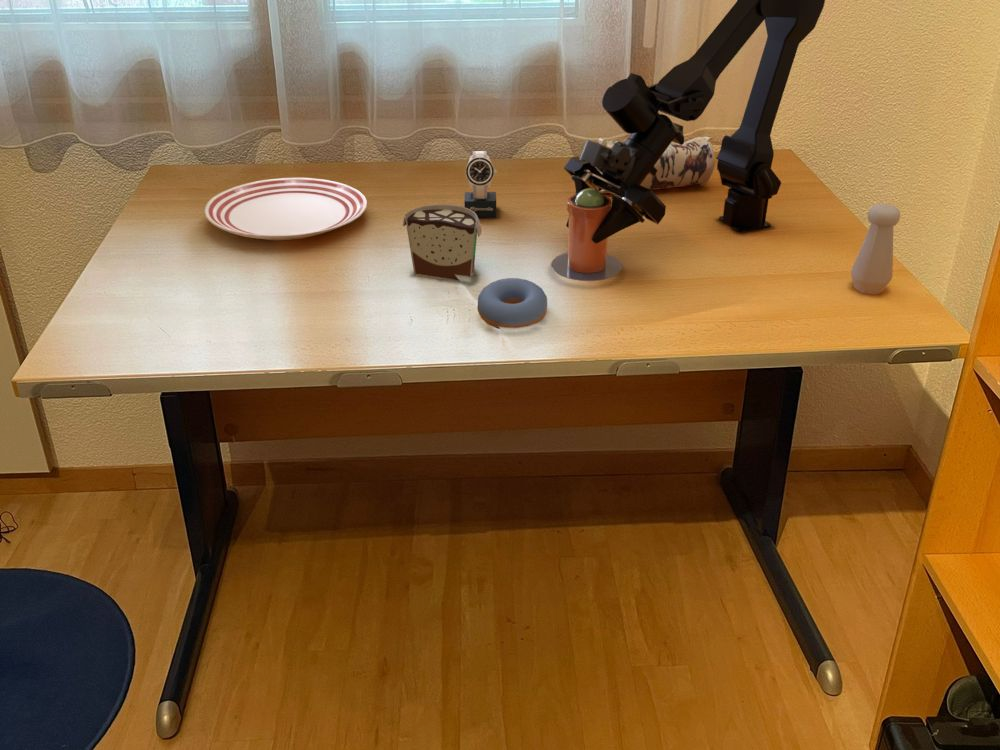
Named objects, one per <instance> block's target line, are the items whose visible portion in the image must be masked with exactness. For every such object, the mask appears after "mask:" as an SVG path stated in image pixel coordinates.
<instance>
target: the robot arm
mask: <svg viewBox="0 0 1000 750" xmlns="http://www.w3.org/2000/svg"><path fill="white" fill-rule="evenodd" d="M825 2H826V0H736V2H734V4H733V5H732V7H731V8H730V9H729V11H728V12H727V13H726V14H725V15H724V17H722V19H721V20H720V22H719V23H718V24H717V26H716V27H715V28H714V29H713V31H712V32H711V33H710V34H709V35H708V36H707V37H706V39H705V40H704V42H703V43H702V44H701V46H699V48H697V50H696V51H695V53H694V54H693V55H692V56H690V58H689V59H687V60H685V61H682V62H681V63H678V64H677V65H675V66H673V67H672V68H671V69H670V70H669V71H668V72H667V73H666V74H664V76H663V77H661V79H659V81H658V82H657V83H655V84H652V85H648V84H647V83H646V80H645V79H644V77H642V75H640V74H637V73H635V72H631V73H630V74H629V75H628V76H627V77H626V78H623V79H621V80H618V81H616V82H614V83H613V84H612V85H611V86H608V88H607V89H606V90H605V91H604V94H603V96H602V99H601V106H602V108H603V109H604V111H605V112H606V113H607V114H608V115H609V116H610V117H611V119H612V120H613V121H614V122H615V123H616V124H617V125H618V127H620V129H621V130H622V131H623V132H624V133H626V134H629V135H628V137H627V138H626V140H625V141H624V142H622V141H620V140H618V142H617V141H616V143H615V144H614V145H613V147H612V148H610V147H607V146H605V145H602V144H600V143H599V142H596V141H593V140H590V139H586V141H585V144H584V147H583V149H582V152H581V154H580V156H578V155H576V156H573V157H570V158H569V160H568V161H567V162H566V164H565V165H564V167H563V169H564V171H565V172H567V173H568V174H569V176H570V177H571V180H572V181H573V182H574V187H575V193H574V195H577V194H578V193H579V192H580V191H582V190H583V189H586V188H594V189H596V190H598V191H601V190H602V189H603V190H605V191H607V192H609V193H608V194H611V195H612V197H611V201H612V206H611V209H610V211H609V212H608V214H607V215H606V217H605V218H604V220H603V221H602V223H601V224H600V226H599V227H598V229H597V230H596V232H595V234H594V236H593V237H592V241H593V242H594V243H596V244H597V243H599V242H601V241H602V240H604V239H606V238H608V239H609V238H610V237H612V236H614V235H615V234H617V233H619V232H621V231H623V230H625V229H627V228H630V227H631V226H633V225H636V224H638V223H642V224H643V223H644V222H645V221H646V220H648V221H650V222H652V223H653V224H656V225H659V224H660V223H661V222H662V220H663V219H664V217H665V216H666V211H667V210H666V209H667V205H666V204H665V203H664V202H663V201H662V200H661V199H660V198H659V197H658V196H657V195H656V193H654V191H653V190H649V189H647V188H645V187H643V186H641V183H642V182H643V181H644V179H645V178H646V176H647V175H648V174H650V175H652V176H654V175H655V174H656V172H657V169H656V168H655V167H654V165H655V164H656V163H657V161H658V160H659V159H660V157H661V156H662V154H663V153H664V152H665V150H666V149H667V148H668V146H669V145H670V143H671V142H675V143H678V144H680V145H683V144H684V141H685V136H684V135H685V134H684V125H681V124H678V123H675V122H673V121H672V119H670V117H669V116H671V117H674V118H677V119H679V120H681V121H685V122H692V121H696V120H697V119H699V117H701V116H702V114H703V113H704V112H705V110H706V108H707V107H708V106H709V103H710V102H711V100H712V99H713V97H714V95H715V90H716V84H717V80H718V79H719V77H720V76H721V74H722V73H723V72H724V71H725V69H726V68H727V67H728V65H729V64H730V63H731V62H732V60H733V59H734V58H735V57H736V55H737V54H738V53H739V52H740V51H741V49H742V48H743V47H744V45H746V43H747V42H748V40H749V39H750V38H751V37H752V36H753V34H755V32H756V31H757V29H758V28H759V27H760V26H761V25H762V24H763V22H764V25H765V29H766V35H767V36H766V40H765V44H764V47H763V52H762V54H761V57H760V60H759V64H758V67H757V70H756V73H755V76H754V80H753V83H752V87H751V90H750V94H749V96H748V100H747V102H746V106H745V109H744V112H743V117H742V119H741V123H740V126H739V127H738V128H737V129H736V130H735V131H734V133H732V134H731V135H727V134H726V135H724V136H723V138H722V139H721V143H720V144H721V145H720V149H719V152H718V154H717V156H715V160H717V165H716V170H717V171H718V173H719V177H720V183H721V185H722V186H724V187H725V186H726V187H728V189H727V197H726V198H725V199H724V206H723V212H722V213H723V214H722V215H721V216H719V217H718V220H719V221H720V222H721V223H723V224H724V225H727V226H728V227H729V228H731V229H732V230H734V231H736V232H737V233H746V232H747V233H748V232H751V231H758V230H763V229H768V228H771V225H772V224H771V223H770V222H768V221H767V220H766V219H767V213H768V206H769V200H771V199H772V197H774V196H776V195H778V193H779V191H780V188H781V185H782V181H781V179H780V178H779V177H778V176H777V174H776V173H775V172H774V170H773V169H772V165H773V160H774V154H775V153H774V147H773V143H772V137H771V133H772V130H773V127H774V124H775V121H776V118H777V114H778V111H779V108H780V105H781V102H782V99H783V96H784V92H785V89H786V85H787V84H788V83H787V82H788V79H789V77H790V73H791V70H792V67H793V64H794V60H795V58H796V54H797V51H798V48H799V46H800V44H801V42H802V41H803V40H805V39H806V38H807V36H809V34H810V33H812V31H813V30H814V29H815V28H816V26H817V23H818V21H819V18H820V16H821V14H822V12H823V9H824V7H825ZM659 112H661V113H659ZM662 113H663V114H662ZM667 115H668V116H667ZM595 167H596V168H597V169H598V170H599V171H601V172H602V173H603V174H601V173H600V172H599V171H598V170H597V169H596V168H595ZM608 185H610V186H611V187H610V186H608ZM619 190H621V192H620V191H619ZM644 218H645V219H646V220H645V219H644ZM565 226H566V228H568V229H569V217H568V218H567V221H566V224H565Z"/></svg>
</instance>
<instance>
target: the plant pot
mask: <svg viewBox="0 0 1000 750" xmlns="http://www.w3.org/2000/svg"><path fill="white" fill-rule="evenodd" d="M611 206H612V198H610V197H608V196H606V195H605V194H604V195H603V193H600V192H599V191H598V190H596V189H594V188H586V189H583V190H582V191H580V192H579V193H578V194H577V195H575V194H573V195H572V196H569V197H568V199H567V203H566V211H567V213H568V218H569V228H568V232H567V252H568V258H567V265H568V267H569V268H570V269H571V270H573V271H576V272H580V273H596V272H599V271H602V270H603V269H605V267H606V258H607V254H608V241H609V240H608V239H609V237H608V238H606V239H604V240H602V241H601V242H599V243H597V244H596V243H594V242H593V241H592V237H593V236H594V234H595V232H596V230H597V229H598V227H599V226H600V224H601V223H602V221H603V220H604V218H605V217H606V215H607V214H608V212H609V211H610V209H611Z"/></svg>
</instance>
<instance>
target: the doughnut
mask: <svg viewBox="0 0 1000 750" xmlns="http://www.w3.org/2000/svg"><path fill="white" fill-rule="evenodd" d="M476 309H477V312H478V314H479V317H480V318H481V320H482V321H484V322H485V323H486V324H487V325H488V326H491V327H493V328H495V329H496V330H497V329H498V330H501V327H503V328H523V327H527V326H531V325H534V324H537V323H538V322H539V321H541V320H542V319H543V318H544V317H545V315H546V313H547V310H548V297H547V295H546V293H545V291H544V290H543V288H542V287H540V286H539V285H538V284H537V283H535V282H534V281H531V280H528V279H524V278H519V277H506V278H501V279H497V280H495V281H492V282H490V283H488V284H487V285H486V286H485V287H483V288H482V290H481V291H480V292H479V294H478V296H477V307H476Z"/></svg>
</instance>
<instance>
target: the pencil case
mask: <svg viewBox="0 0 1000 750" xmlns="http://www.w3.org/2000/svg"><path fill="white" fill-rule="evenodd" d="M714 140H715V138H714V137H710V136H697V137H695V138H690V139H686V140H684V144H683V145H680V144H678V143H675V142H673V141H672V142H671V143H670V145H669V146H668V148H667V149H666V150H665V152H664V153H663V154H662V156H661V157H660V159H659V160H658V161H657V163H656V164H655V165H654V167H655V168H656V169H657V172H656V174H655V175H654V176H652V175H650V174H648V175H647V176H646V178H645V179H644V181H643V182H642V183H641V186H643V187H645V188H647V189H649V190H651V191H654V190H661V189H663V190H664V189H667V190H668V189H673V188H679V187H686V186H687V187H688V186H696V187H697V186H698V187H699V186H705V185H707V184H708V182H710V179H711V177H712V175H713V173H714V171H715V170H714V169H715V165H716V156H715V150H714V147H713V144H712V143H711V142H710V141H714ZM597 141H598V143H599V144H602V145H605V146H607V147H610V148H612V147H613V145H614V144H615V143H616V142H618V141H619V140H618V141H616V140H615V139H610V140H609V141H608V140H607V141H605V140H604V139H603V138H600V137H598V140H597ZM595 168H596V167H595ZM596 169H597V168H596ZM597 170H598V169H597ZM598 171H599V170H598ZM599 172H600V173H601V174H603V173H602V172H601V171H599ZM608 186H610V185H608ZM610 187H611V186H610ZM619 191H620V192H621V190H619ZM599 192H600V193H601V194H610V193H609V192H607V191H605V190H603V189H602V190H601V191H599Z"/></svg>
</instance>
